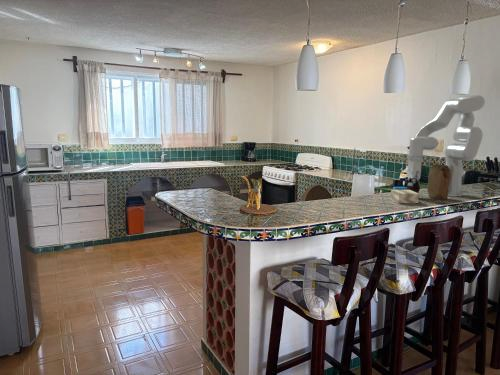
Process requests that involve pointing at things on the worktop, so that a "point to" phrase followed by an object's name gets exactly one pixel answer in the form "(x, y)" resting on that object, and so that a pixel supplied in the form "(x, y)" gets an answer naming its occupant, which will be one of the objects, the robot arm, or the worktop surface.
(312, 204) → the worktop surface
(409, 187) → the mate gourd
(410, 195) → the maple block
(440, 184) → the block
